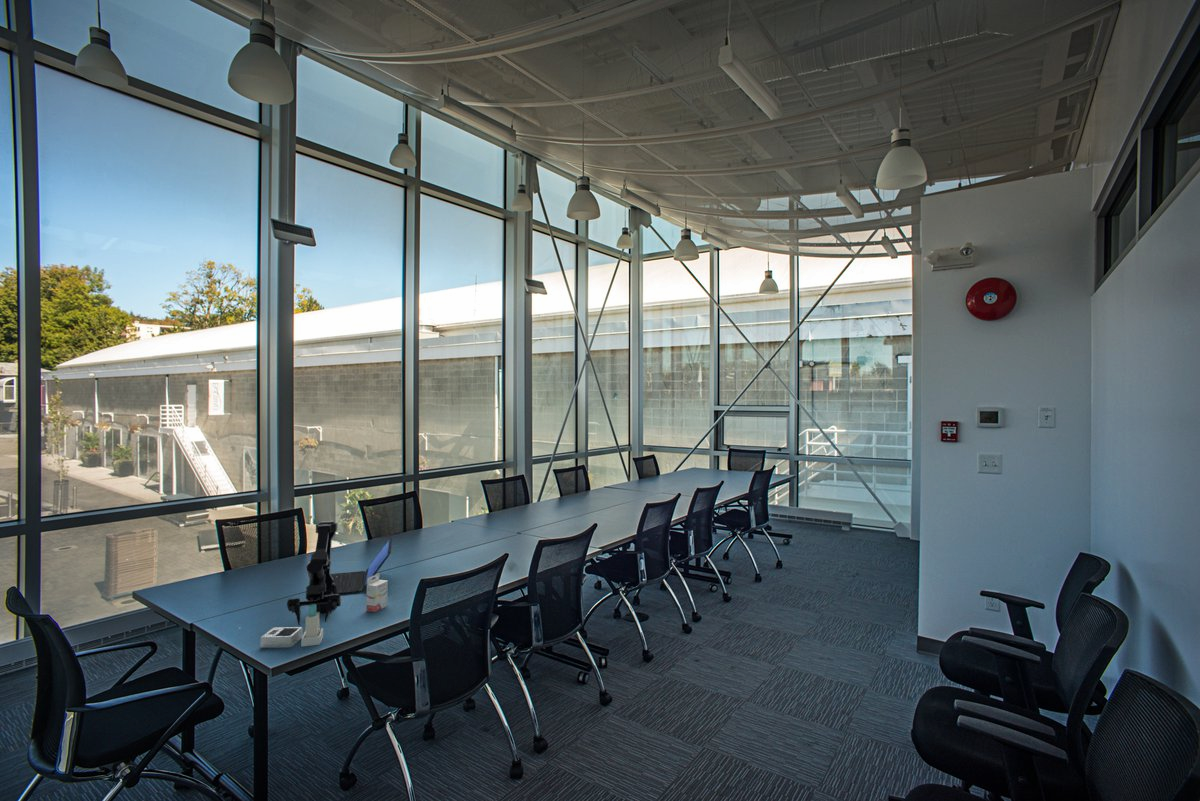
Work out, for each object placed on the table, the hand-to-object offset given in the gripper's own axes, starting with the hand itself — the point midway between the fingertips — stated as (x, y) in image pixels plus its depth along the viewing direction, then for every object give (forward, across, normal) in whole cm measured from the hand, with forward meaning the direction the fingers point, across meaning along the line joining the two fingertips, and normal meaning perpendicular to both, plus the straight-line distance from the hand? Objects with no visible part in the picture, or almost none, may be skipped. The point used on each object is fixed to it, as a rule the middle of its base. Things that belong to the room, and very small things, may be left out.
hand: (312, 623), depth 220 cm
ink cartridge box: (-16, +22, +27) cm, 38 cm away
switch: (+3, -11, +8) cm, 14 cm away
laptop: (-44, +8, +55) cm, 71 cm away
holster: (+4, 0, +6) cm, 8 cm away
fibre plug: (+4, 0, +6) cm, 8 cm away
